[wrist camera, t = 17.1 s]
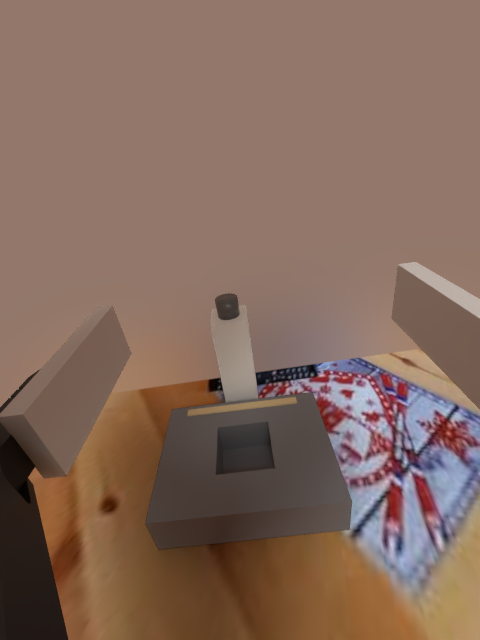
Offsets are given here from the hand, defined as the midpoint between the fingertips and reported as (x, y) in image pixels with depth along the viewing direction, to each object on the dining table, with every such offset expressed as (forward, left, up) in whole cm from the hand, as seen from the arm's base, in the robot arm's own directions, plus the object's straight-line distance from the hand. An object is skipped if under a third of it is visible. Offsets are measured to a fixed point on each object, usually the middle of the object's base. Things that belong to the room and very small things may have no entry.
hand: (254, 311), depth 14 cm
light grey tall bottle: (+3, -17, -21) cm, 27 cm away
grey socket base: (+2, -7, -21) cm, 22 cm away
